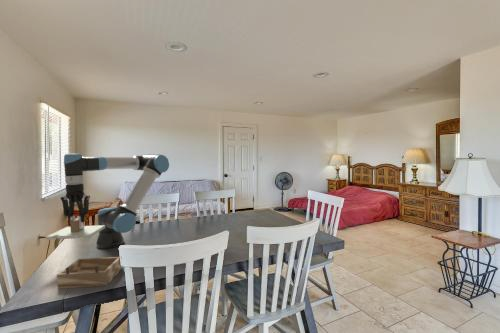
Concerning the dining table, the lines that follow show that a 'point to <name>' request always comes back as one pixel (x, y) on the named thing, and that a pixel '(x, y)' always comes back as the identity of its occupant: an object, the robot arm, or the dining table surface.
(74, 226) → the white box lid
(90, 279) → the shallow wooden tray
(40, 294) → the dining table surface
